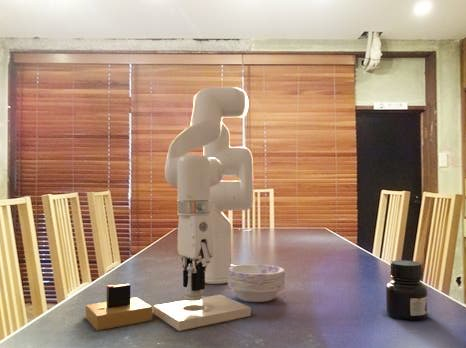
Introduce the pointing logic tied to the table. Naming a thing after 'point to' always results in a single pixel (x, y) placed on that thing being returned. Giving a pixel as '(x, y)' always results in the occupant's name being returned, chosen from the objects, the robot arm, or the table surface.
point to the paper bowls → (256, 281)
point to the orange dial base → (118, 314)
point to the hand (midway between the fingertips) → (193, 287)
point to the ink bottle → (406, 291)
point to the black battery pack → (118, 295)
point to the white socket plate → (201, 312)
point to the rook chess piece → (188, 292)
